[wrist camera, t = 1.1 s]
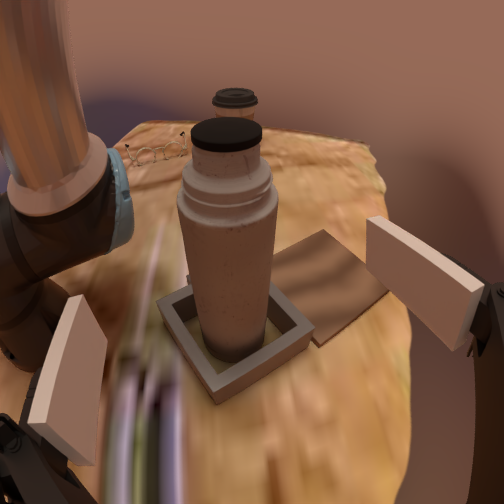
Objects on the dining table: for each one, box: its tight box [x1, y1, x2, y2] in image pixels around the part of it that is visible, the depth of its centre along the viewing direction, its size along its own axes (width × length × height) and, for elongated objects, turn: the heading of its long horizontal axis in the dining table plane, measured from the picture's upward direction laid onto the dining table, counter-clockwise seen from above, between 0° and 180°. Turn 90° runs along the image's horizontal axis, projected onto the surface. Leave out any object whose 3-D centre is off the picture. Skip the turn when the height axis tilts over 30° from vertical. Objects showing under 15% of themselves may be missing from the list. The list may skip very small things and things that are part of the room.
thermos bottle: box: [177, 117, 278, 362], centre depth 30 cm, size 8×8×28 cm
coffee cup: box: [212, 88, 258, 121], centre depth 72 cm, size 11×11×15 cm
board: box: [270, 229, 390, 348], centre depth 46 cm, size 16×16×1 cm
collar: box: [156, 274, 315, 405], centre depth 38 cm, size 16×14×5 cm
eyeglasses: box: [125, 131, 187, 166], centre depth 75 cm, size 17×15×5 cm
